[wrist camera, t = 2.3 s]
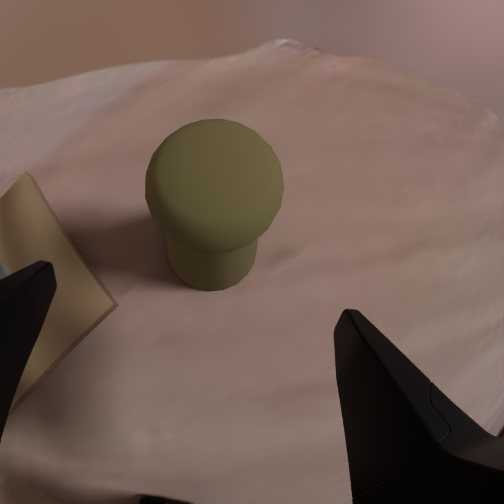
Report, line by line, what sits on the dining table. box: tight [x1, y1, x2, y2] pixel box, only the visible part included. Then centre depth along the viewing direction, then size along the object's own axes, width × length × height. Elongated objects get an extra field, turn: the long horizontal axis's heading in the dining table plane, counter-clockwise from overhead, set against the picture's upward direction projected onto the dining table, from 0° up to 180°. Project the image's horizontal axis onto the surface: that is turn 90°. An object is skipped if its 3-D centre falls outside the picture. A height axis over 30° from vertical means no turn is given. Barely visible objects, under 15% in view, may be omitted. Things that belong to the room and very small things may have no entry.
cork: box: [145, 119, 284, 291], centre depth 15 cm, size 6×6×11 cm
